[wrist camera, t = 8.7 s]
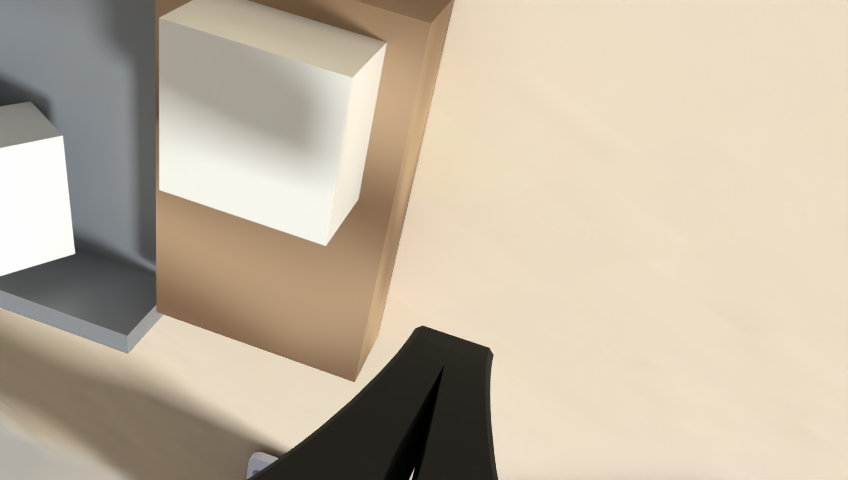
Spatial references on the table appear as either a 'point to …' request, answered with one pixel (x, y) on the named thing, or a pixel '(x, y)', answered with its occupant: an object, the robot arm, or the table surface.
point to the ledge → (297, 257)
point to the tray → (91, 160)
